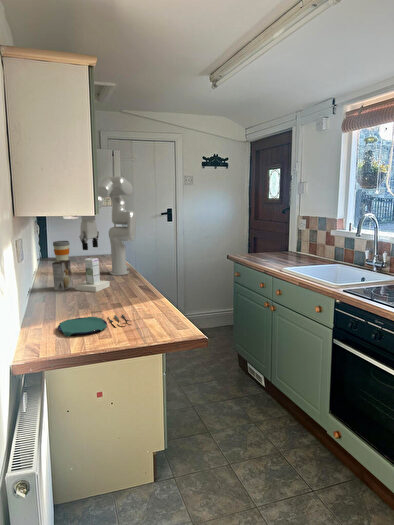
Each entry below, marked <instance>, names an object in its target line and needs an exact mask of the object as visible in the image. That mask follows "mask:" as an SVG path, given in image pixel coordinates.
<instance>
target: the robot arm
mask: <svg viewBox="0 0 394 525" xmlns="http://www.w3.org/2000/svg"><path fill="white" fill-rule="evenodd" d="M97 186H98V200H99V209H101V208H103V207H104V205H105V200H104V199H105V198H108V197H109V199H110V200H111V222H112V224H114V225H119V226H112V227H110V228H109V230H108V238H109V242H110V243H109V244H110V254H111V256H110V257H111V271H110V272H109V274H110V275H111V276H123V275H127V274H129V273H130V271H129V270H127V269H129V268H130V266H129V265H127V254H126V253H127V252H126V246H125V244H124V242H132V241H134V240H135V238H136V228H137V216H136V213H135V211H134V210H131V209H128V210H127V209H126V202H125V200H124V199H123V197H129V196H132V194H133V190H134V189H133V186H132V184H131V182H130V181H128V180H127V179H126V178H125V177H123V176H107V177H104V178H103V179H102V180H101V181H100V183H99V184H98V185H97ZM80 218H81V221H80V235H79V240H80V242H81V246H82V250H83V251H88V250H89V243H88V240H92V241H91V242H92V248H98V247H99V244H98V243H99V242H98V241H99V235H100V233H99V231H98V229H97V228H98V227H97V222H96V215H95V216H81V217H80ZM120 225H122V226H120ZM123 225H124V226H123Z"/></svg>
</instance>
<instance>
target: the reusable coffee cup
mask: <svg viewBox="0 0 394 525" xmlns="http://www.w3.org/2000/svg"><path fill="white" fill-rule="evenodd" d="M52 246H53V253H54V255H55V259H56V262H57V261H59V260H69V255H70V241H69V240H55V241H53V242H52Z"/></svg>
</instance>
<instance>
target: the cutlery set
mask: <svg viewBox="0 0 394 525" xmlns="http://www.w3.org/2000/svg"><path fill="white" fill-rule="evenodd" d="M122 316H123V317H124V318H126V316H125V315H124V314H121V317H122ZM107 317H108V318H110V317H109V316H107ZM113 317H114V319H116V320H117V321H118V320H120V319H119V318H118V316H117V315H113ZM123 317H122V318H123ZM108 318H107V319H108ZM124 318H123V319H124ZM110 319H111V318H110ZM110 319H108V320H109V322H110V321H111V322H113V323H114V320H113V319H111V320H110ZM127 321H130V320H129V319H127ZM111 322H110V323H111ZM107 325H108V323H107V321H106V320H105V319H103V318H102V317H97V316H87V317H85V316H84V317H75V318H71V319H69V318H68V319H66V320H63V321H61V322H60V323H59V324H58V326H57V330H58V331H59V332H61V333H62V334H63V335H64V336H65V337H68V336H69V337H70V336H71V335H87V334H91V333H96V332H99V331H100V332H102V331H104V330H105V328H106V329H107ZM103 329H104V330H103ZM94 330H95V331H94Z"/></svg>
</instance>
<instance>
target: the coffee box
mask: <svg viewBox="0 0 394 525" xmlns="http://www.w3.org/2000/svg"><path fill="white" fill-rule="evenodd" d="M51 267H52V276H53V287H54V288H53V289H54V291H63V290H64V291H66V290H68V289H70V288H72V287H73V285H72V284H73V283H72V273H71V272H72V271H71V261H70V259H68V260H59V261H57V260H56V261H54V262H52V266H51Z"/></svg>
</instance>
